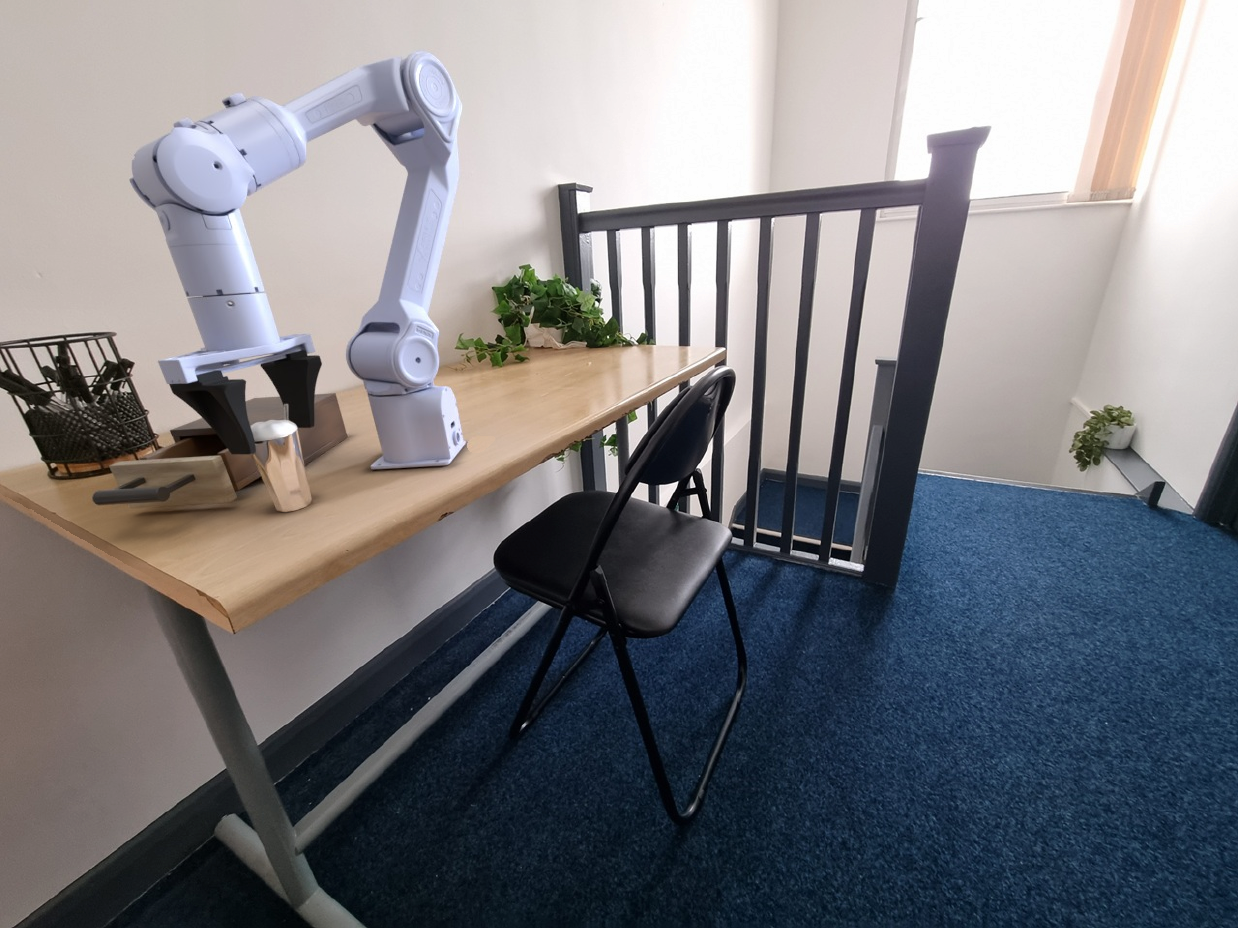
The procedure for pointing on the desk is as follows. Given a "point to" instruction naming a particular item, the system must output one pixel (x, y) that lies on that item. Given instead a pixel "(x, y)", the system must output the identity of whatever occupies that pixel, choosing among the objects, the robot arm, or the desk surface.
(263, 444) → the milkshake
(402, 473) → the desk surface
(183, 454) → the drawer
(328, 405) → the cabinet
